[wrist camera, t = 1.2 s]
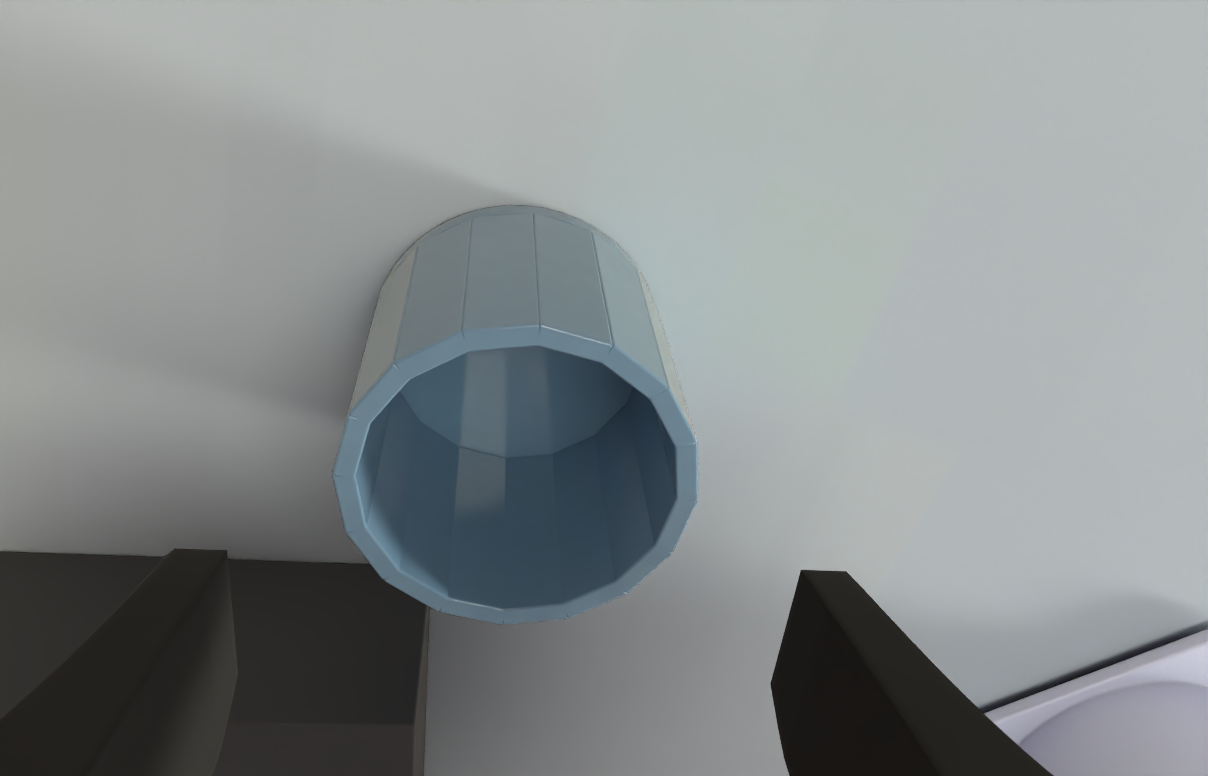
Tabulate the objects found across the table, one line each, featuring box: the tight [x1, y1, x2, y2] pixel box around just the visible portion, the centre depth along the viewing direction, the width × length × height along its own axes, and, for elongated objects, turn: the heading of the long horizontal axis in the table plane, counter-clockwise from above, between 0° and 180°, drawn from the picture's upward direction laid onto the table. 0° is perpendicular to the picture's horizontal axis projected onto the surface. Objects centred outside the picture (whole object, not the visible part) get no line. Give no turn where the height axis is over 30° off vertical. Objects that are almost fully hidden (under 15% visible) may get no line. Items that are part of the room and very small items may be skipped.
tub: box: [332, 206, 698, 625], centre depth 18 cm, size 6×6×5 cm
